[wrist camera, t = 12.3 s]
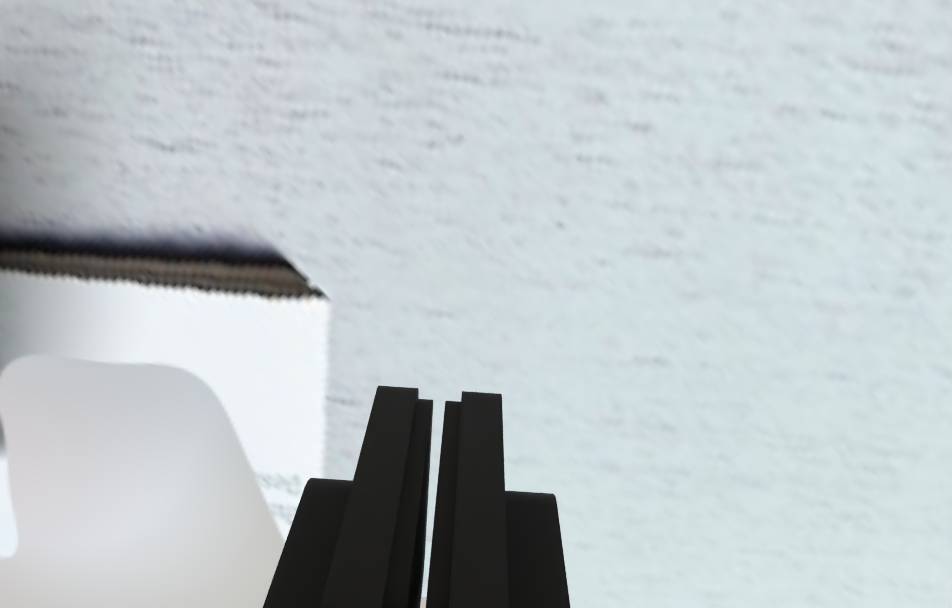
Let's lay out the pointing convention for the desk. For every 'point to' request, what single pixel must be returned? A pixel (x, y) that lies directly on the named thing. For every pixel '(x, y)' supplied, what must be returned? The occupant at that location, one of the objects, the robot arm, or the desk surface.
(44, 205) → the desk surface
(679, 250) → the desk surface
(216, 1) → the desk surface
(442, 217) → the desk surface
